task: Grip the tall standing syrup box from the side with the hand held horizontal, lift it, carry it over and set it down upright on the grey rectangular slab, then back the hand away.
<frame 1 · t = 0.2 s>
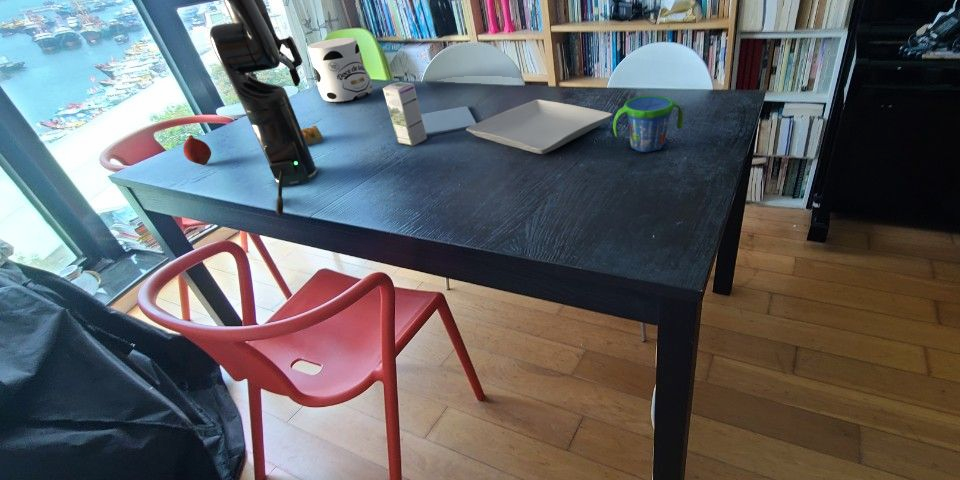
hand: (278, 88, 115), 17 cm above the table, tool pointing down, fingers open, 8 cm apart
onion: (204, 165, 126), on the table
syrup box: (412, 141, 127), on the table
doce de leite tin: (350, 99, 165), on the table
square plate: (540, 134, 123), on the table
pastry: (308, 143, 133), on the table
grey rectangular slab: (448, 121, 138), on the table
snack cup: (646, 147, 111), on the table
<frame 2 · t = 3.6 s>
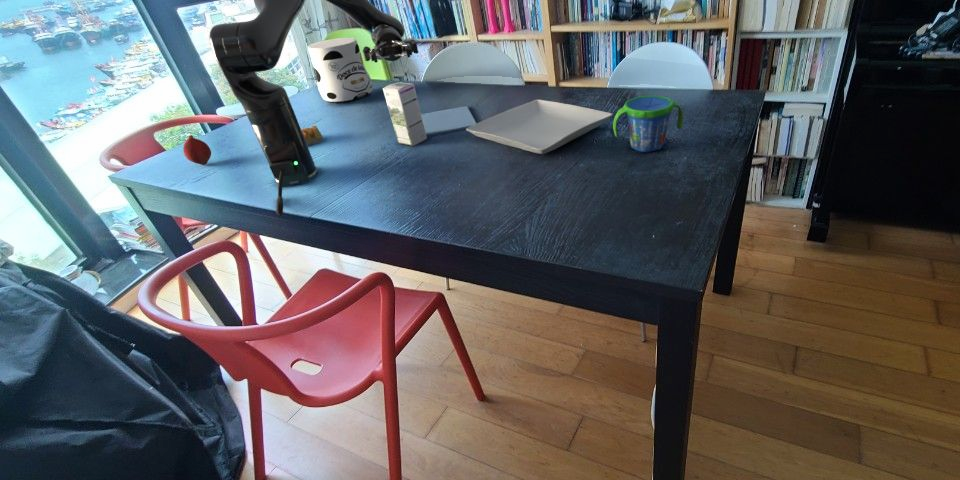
hand: (391, 55, 124), 19 cm above the table, tool horizontal, fingers open, 8 cm apart
nothing on the table moved.
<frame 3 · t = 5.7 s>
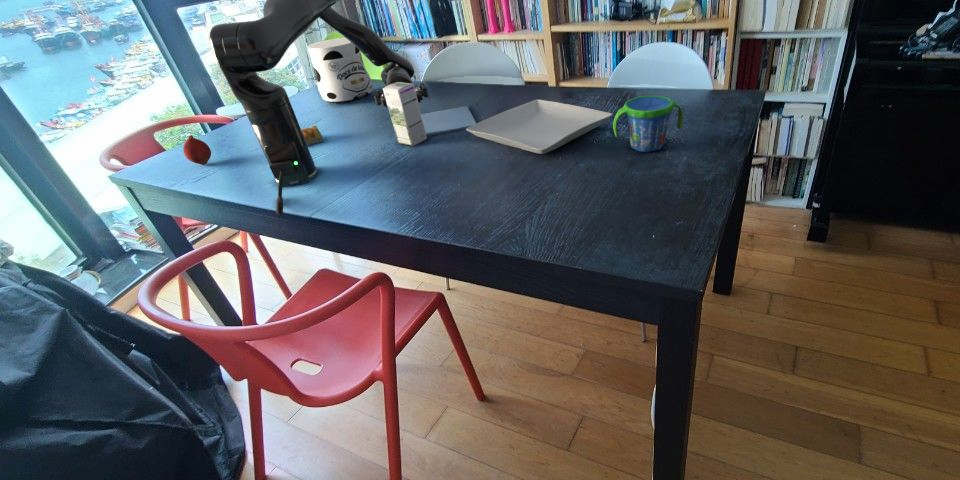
hand: (402, 101, 127), 9 cm above the table, tool horizontal, fingers open, 8 cm apart
nothing on the table moved.
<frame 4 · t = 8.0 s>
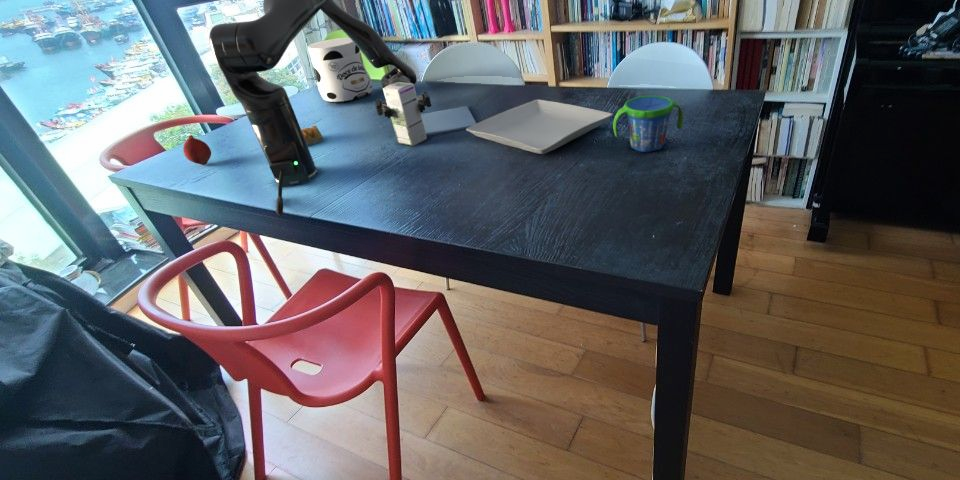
hand: (404, 111, 120), 8 cm above the table, tool horizontal, fingers closed on syrup box, 8 cm apart
syrup box: (412, 141, 127), on the table, touching gripper
everything else where it was.
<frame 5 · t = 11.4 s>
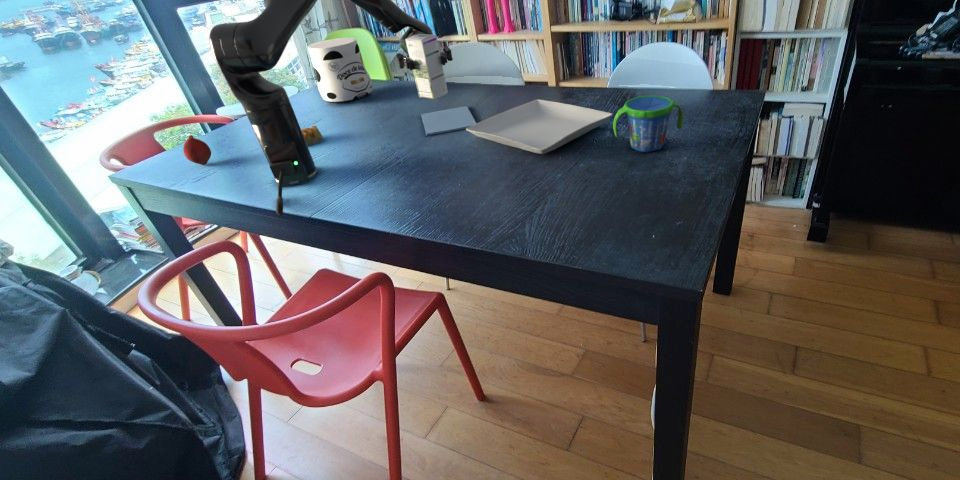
hand: (427, 63, 120), 18 cm above the table, tool horizontal, fingers closed on syrup box, 8 cm apart
syrup box: (433, 96, 127), point 9 cm above the table, touching gripper
everything else where it was.
when the fingers open (9 cm above the table, at t = 14.9 s): syrup box stays where it is, resting on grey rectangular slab.
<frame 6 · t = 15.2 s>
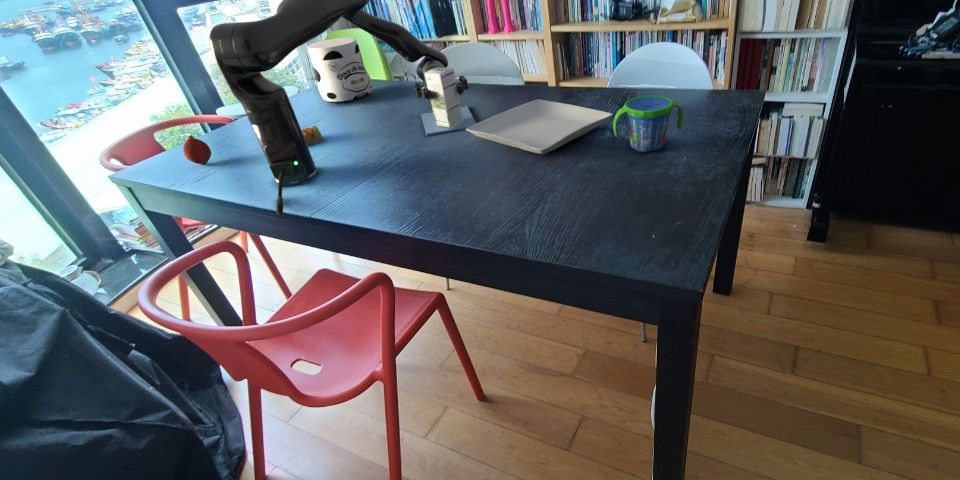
hand: (444, 93, 126), 10 cm above the table, tool horizontal, fingers open, 8 cm apart
syrup box: (450, 125, 133), resting on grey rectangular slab
everything else where it was.
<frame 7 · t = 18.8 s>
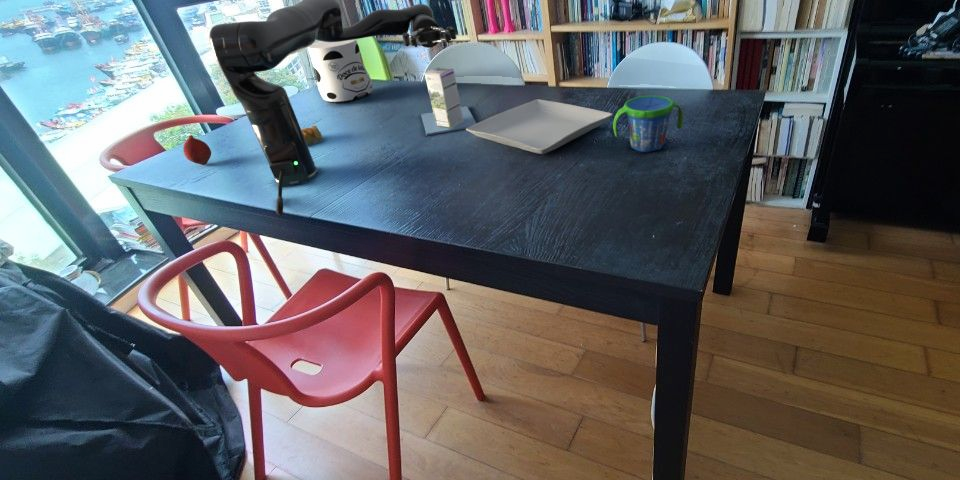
hand: (431, 40, 127), 21 cm above the table, tool horizontal, fingers open, 8 cm apart
nothing on the table moved.
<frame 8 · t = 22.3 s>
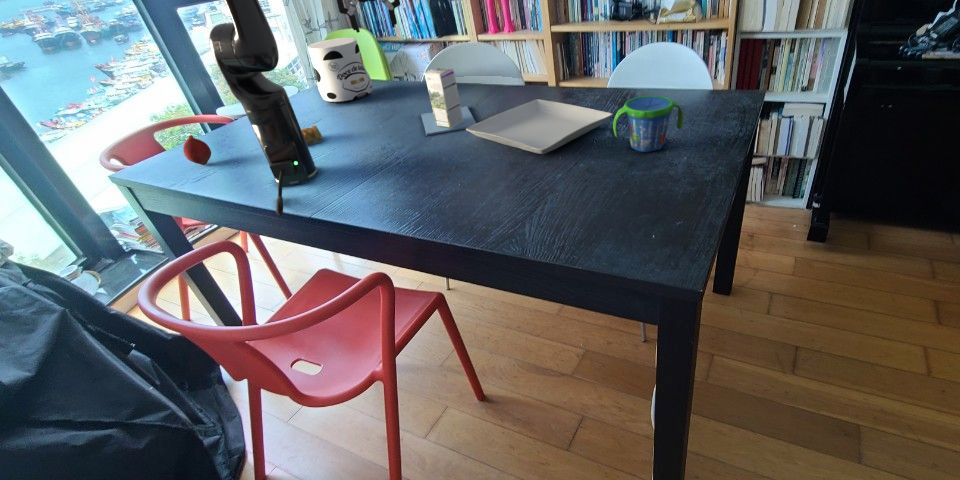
hand: (376, 29, 117), 26 cm above the table, tool pointing down, fingers open, 8 cm apart
nothing on the table moved.
at the end: syrup box inside the target area on the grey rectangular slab (4.9 cm from its centre), point 0.4 cm above the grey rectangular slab's base; syrup box tilted 0°; the gripper is holding nothing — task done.
